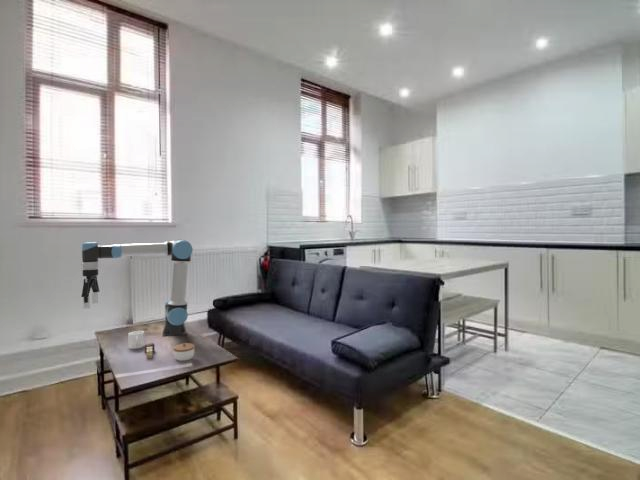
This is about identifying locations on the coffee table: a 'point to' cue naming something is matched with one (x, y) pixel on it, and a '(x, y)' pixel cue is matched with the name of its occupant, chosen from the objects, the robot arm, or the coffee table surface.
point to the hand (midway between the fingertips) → (91, 305)
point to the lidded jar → (184, 351)
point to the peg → (149, 349)
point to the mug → (136, 339)
